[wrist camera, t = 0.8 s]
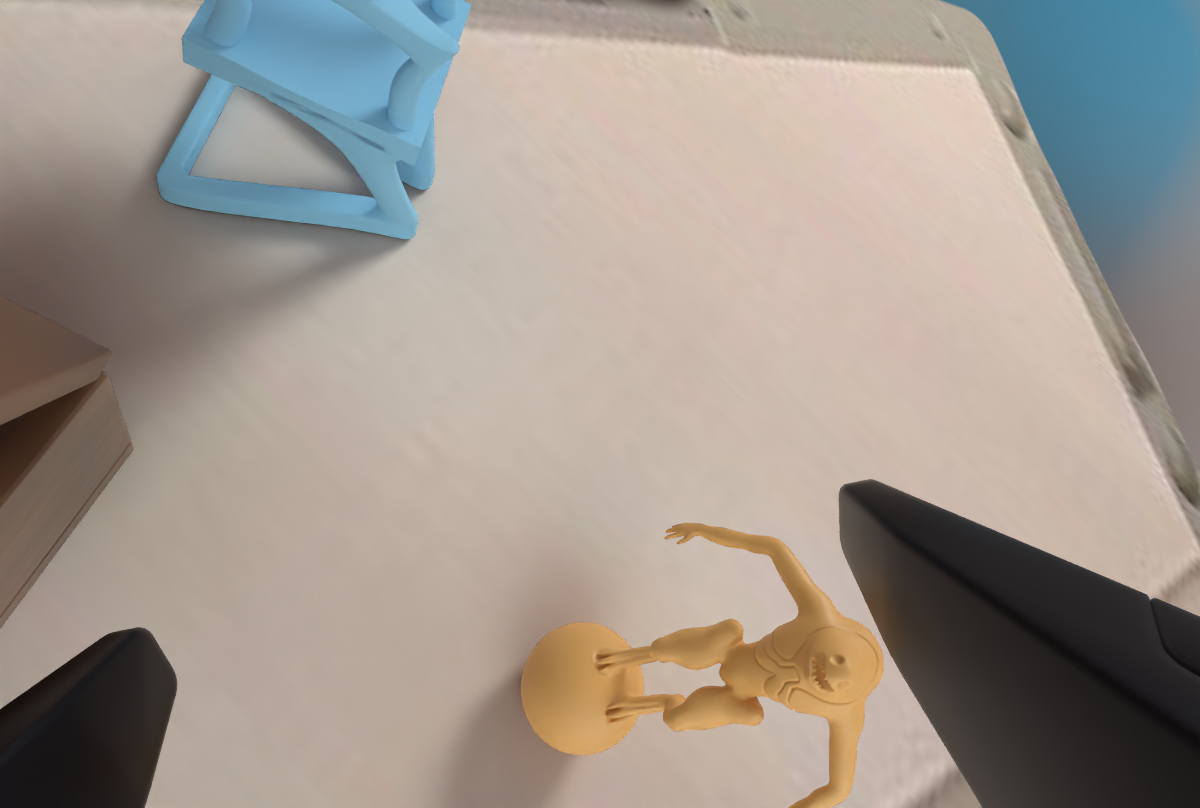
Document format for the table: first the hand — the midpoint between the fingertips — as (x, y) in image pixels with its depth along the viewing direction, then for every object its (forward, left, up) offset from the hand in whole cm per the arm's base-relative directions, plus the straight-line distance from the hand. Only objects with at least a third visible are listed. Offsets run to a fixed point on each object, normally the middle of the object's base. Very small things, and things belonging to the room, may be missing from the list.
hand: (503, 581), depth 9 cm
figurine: (+2, -8, -16) cm, 18 cm away
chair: (+15, +9, -16) cm, 23 cm away
